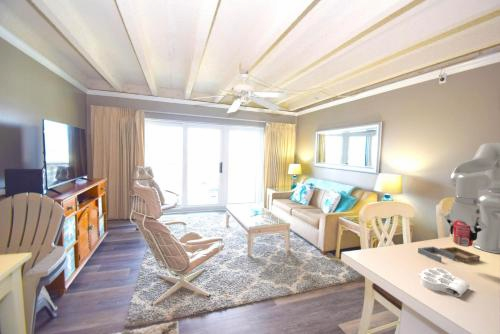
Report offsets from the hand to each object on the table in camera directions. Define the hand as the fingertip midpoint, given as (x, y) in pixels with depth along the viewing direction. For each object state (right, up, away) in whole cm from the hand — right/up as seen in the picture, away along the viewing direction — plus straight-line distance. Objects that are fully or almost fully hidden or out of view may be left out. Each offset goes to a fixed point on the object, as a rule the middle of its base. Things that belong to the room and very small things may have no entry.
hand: (462, 236), depth 104 cm
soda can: (0, -4, 0) cm, 4 cm away
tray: (+9, -14, +11) cm, 20 cm away
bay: (-4, -14, +11) cm, 18 cm away
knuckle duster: (-23, -15, -14) cm, 31 cm away
